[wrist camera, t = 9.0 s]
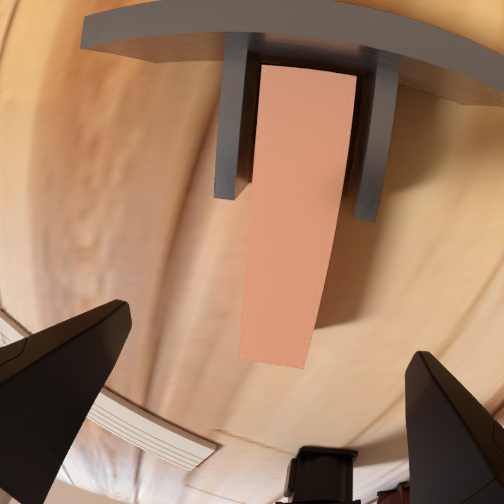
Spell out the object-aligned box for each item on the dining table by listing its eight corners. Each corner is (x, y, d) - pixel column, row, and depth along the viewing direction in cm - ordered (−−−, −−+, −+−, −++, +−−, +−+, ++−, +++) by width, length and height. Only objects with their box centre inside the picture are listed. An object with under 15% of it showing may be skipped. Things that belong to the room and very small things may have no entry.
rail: (306, 328, 22) (303, 368, 18) (250, 320, 22) (238, 358, 19) (346, 84, 15) (356, 76, 11) (272, 75, 15) (261, 64, 12)
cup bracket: (466, 81, 13) (537, 75, 6) (442, 217, 16) (496, 273, 10) (157, 40, 15) (84, 16, 9) (150, 174, 18) (79, 208, 12)
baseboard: (187, 467, 36) (218, 440, 31) (182, 483, 34) (212, 460, 28) (11, 358, 35) (2, 306, 29) (0, 370, 32) (-12, 318, 27)
